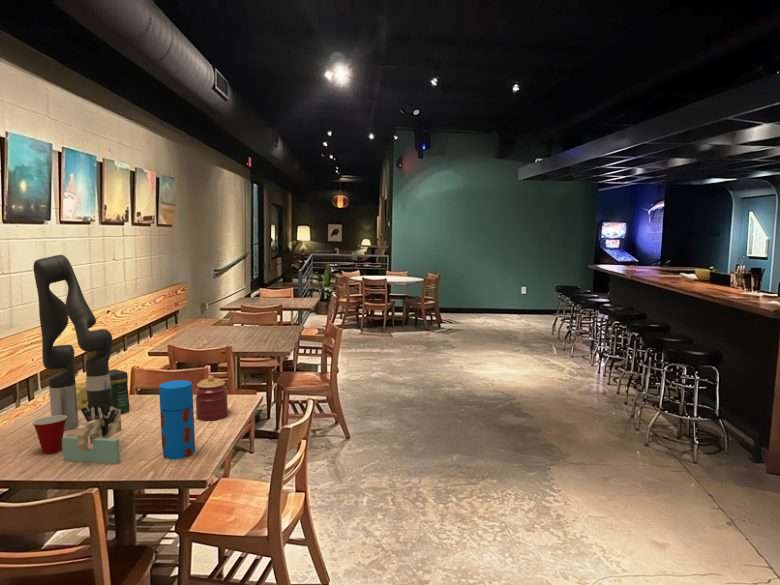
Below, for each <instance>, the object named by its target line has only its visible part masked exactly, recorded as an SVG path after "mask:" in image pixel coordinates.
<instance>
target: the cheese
mask: <svg viewBox="0 0 780 585" xmlns="http://www.w3.org/2000/svg"><path fill="white" fill-rule="evenodd" d="M76 396H77V410H78V411H81V409H82V408H84V407H86V406H87V405H88V401H87V391H86V381H83V382H79V383H76Z"/></svg>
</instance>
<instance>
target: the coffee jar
mask: <svg viewBox="0 0 780 585" xmlns="http://www.w3.org/2000/svg"><path fill="white" fill-rule="evenodd" d="M109 376H110V385H111V400H110V402H111V404H112V407H114V408H118V409H120V411H121V415H124V414H126V413H129V411H130V399H129V385H128V383H129V382H128V381H129V376H128V372H126V371H123V370H119V369H117V368H116V369H115V368H114V369H109ZM109 412H110V410H109Z"/></svg>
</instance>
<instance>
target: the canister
mask: <svg viewBox="0 0 780 585" xmlns="http://www.w3.org/2000/svg"><path fill="white" fill-rule="evenodd" d="M225 383H226V382H225V381H224V380H222V379H221V378H219V377H218V378H216V377H214V375H212V374H211V375H208V376H207V378H205V379H202V380H200V381H199V382H198V383H197V384H196V386H197V387H196V388H195V389H194V392H195V393H196V395H195V406H196V407H195V408H196V409H195V410H196V411H195V416H196V419H197V420H199V421H204V422H205V421H206V422H208V421H210V422H211V421H218V420H221V419H224V418H226V417H227V416H228V414H229V413H228V412H229V408H228V394H227V390H228V386H227V385H225Z"/></svg>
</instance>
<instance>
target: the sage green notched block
mask: <svg viewBox="0 0 780 585" xmlns="http://www.w3.org/2000/svg"><path fill="white" fill-rule="evenodd" d="M92 447H93V448H88V449H86V450H85V451H79V448H78V435H77V436H76V435H75V436H73V435H65V436H63V438H62V458H63V461H67V462H81V463H82V462H83V463H96V464H98V463H99V464H109V465H110V464H112V465H118V464H119V463H120V462H121V452H120V451H121V450H120V438H110V437H109V438H95V439H93V444H92Z"/></svg>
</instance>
